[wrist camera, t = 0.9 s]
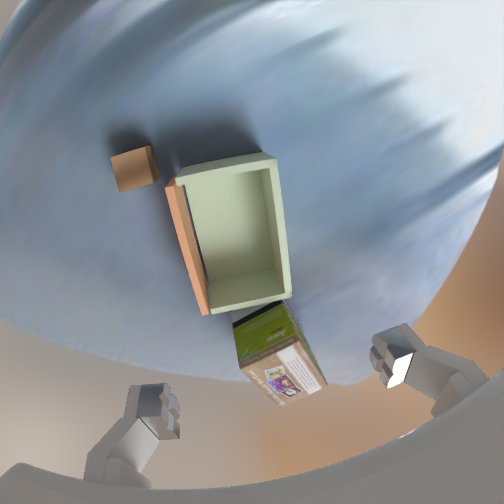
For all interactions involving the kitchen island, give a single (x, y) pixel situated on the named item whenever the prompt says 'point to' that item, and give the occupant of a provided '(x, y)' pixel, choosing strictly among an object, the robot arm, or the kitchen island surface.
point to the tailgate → (188, 243)
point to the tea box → (275, 352)
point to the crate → (240, 229)
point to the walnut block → (135, 168)
